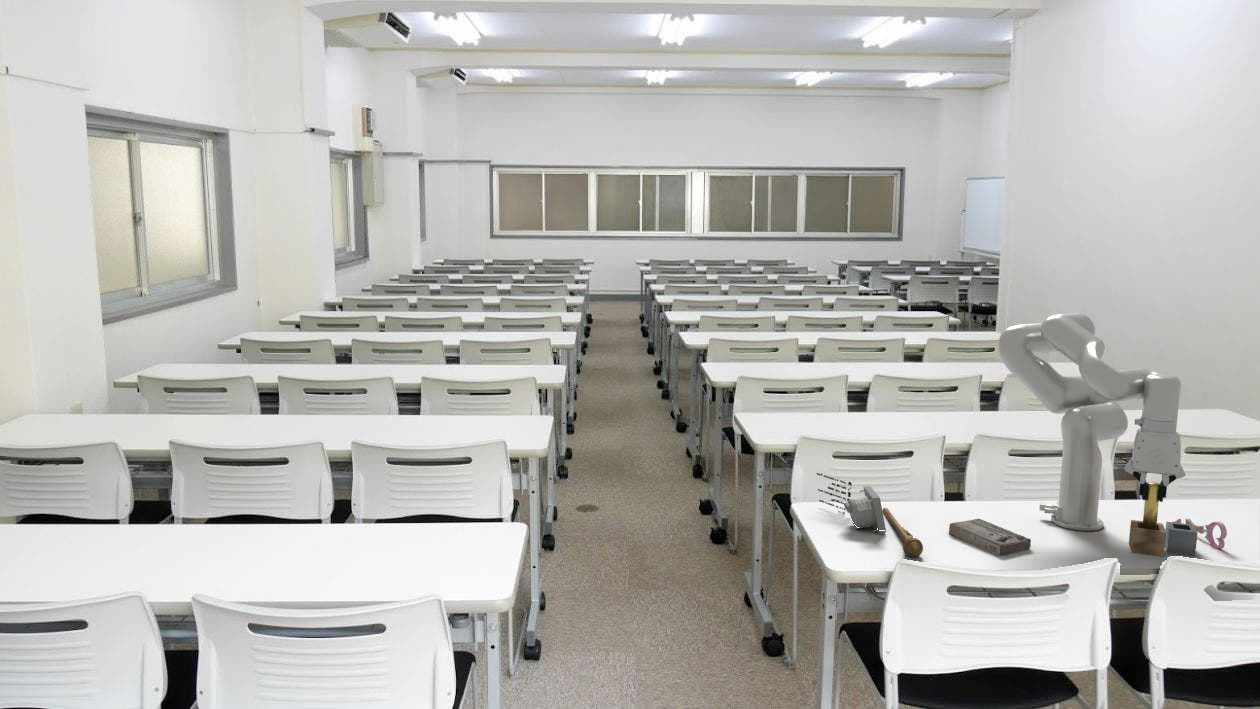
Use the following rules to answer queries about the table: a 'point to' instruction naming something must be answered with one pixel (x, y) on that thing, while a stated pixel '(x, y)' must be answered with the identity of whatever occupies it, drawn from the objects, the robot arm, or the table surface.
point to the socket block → (1180, 538)
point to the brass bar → (1151, 506)
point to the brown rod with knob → (905, 537)
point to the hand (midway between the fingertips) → (1152, 498)
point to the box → (989, 536)
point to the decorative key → (1210, 532)
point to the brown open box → (1147, 539)
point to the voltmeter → (861, 507)
